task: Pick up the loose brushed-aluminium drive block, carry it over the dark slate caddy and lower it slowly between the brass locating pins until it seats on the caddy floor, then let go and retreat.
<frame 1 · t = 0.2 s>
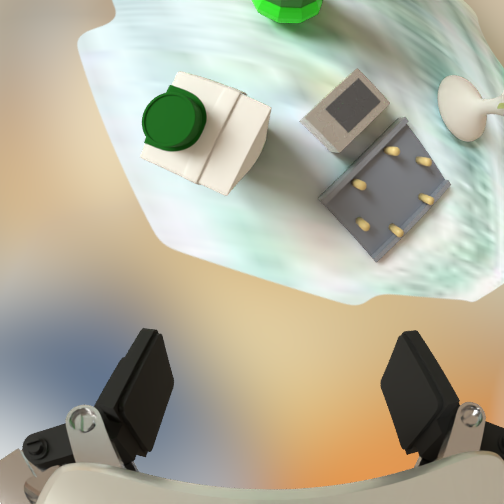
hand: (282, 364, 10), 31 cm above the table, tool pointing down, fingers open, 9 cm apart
flower in vase: (453, 108, 30), on the table
milk carton: (232, 138, 35), on the table
caddy: (387, 188, 36), on the table
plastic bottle: (285, 7, 27), on the table
drive: (338, 113, 33), on the table
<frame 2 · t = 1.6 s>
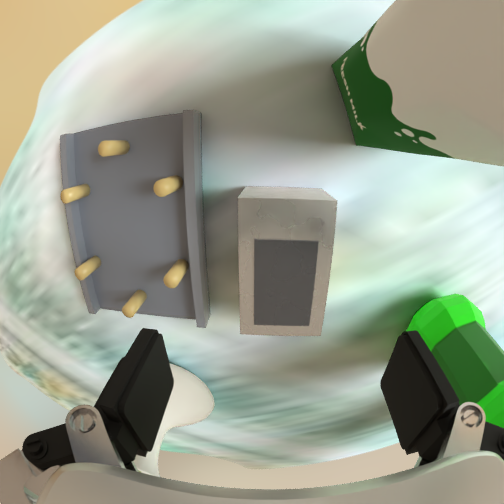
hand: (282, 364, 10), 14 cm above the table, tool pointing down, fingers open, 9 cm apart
flower in vase: (175, 381, 30), on the table
milk carton: (381, 99, 18), on the table
caddy: (134, 222, 23), on the table
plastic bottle: (428, 319, 25), on the table
drive: (282, 246, 23), on the table
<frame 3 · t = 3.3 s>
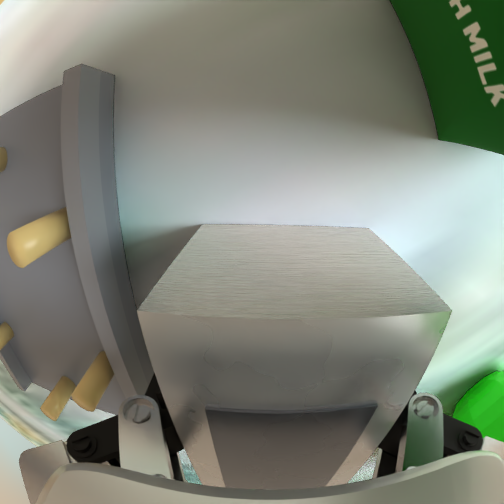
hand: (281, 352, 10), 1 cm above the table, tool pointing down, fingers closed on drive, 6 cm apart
milk carton: (468, 61, 6), on the table
caddy: (37, 282, 11), on the table
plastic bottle: (477, 392, 14), on the table
drive: (281, 338, 11), on the table, touching gripper
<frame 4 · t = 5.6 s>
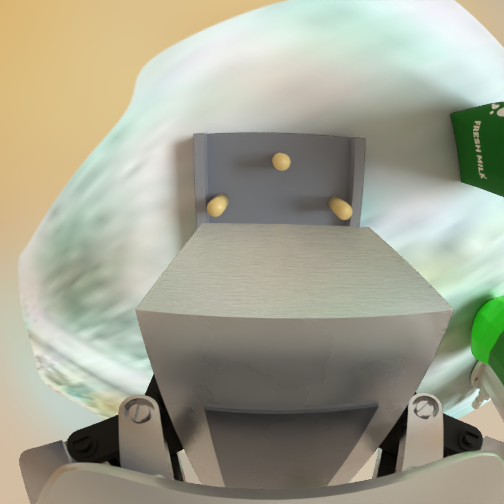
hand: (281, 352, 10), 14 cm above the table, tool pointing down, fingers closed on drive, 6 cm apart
milk carton: (476, 145, 19), on the table
caddy: (277, 238, 24), on the table
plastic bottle: (484, 315, 26), on the table
drive: (281, 338, 11), point 13 cm above the table, touching gripper
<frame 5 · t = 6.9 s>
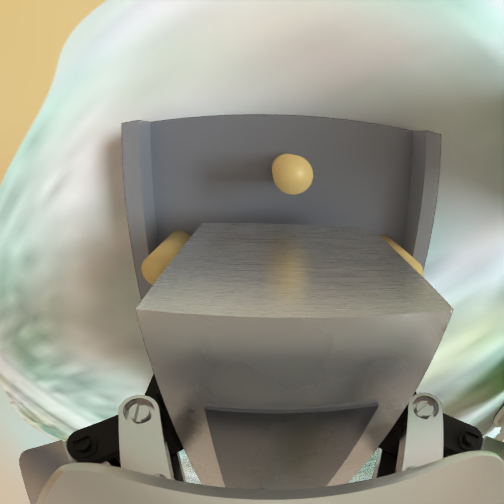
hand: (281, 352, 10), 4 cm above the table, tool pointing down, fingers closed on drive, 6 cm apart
caddy: (279, 301, 14), on the table
drive: (281, 338, 11), point 3 cm above the table, touching gripper
when the fingers open (3 cm above the table, at t = 7.9 s): drive drops 1 cm, resting on caddy.
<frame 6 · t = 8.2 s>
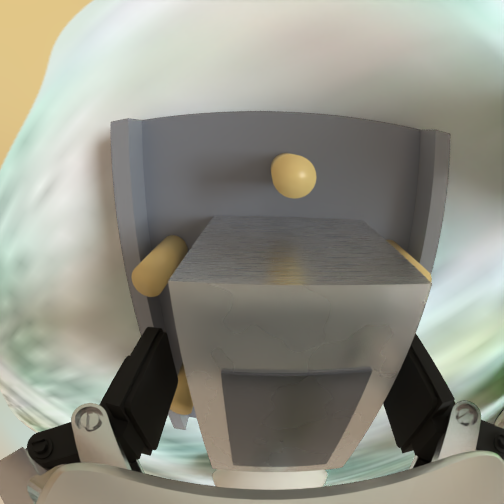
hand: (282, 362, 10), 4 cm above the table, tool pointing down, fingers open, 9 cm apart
flower in vase: (275, 464, 21), on the table
caddy: (279, 309, 13), on the table
drive: (284, 322, 12), point 1 cm above the table, touching caddy
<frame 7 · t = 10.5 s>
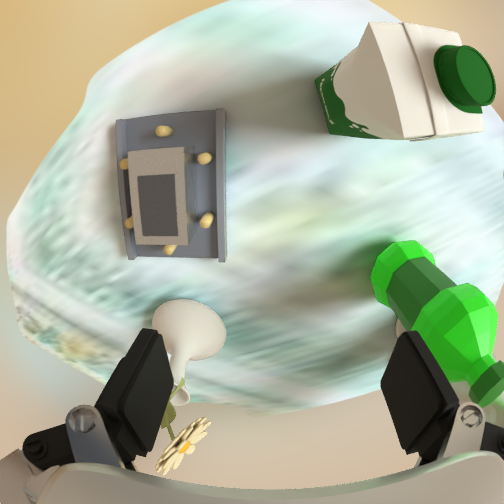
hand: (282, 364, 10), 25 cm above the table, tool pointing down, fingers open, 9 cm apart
flower in vase: (193, 320, 40), on the table
milk carton: (348, 102, 27), on the table
caddy: (173, 186, 32), on the table
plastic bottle: (392, 263, 36), on the table
drive: (172, 188, 31), point 1 cm above the table, touching caddy
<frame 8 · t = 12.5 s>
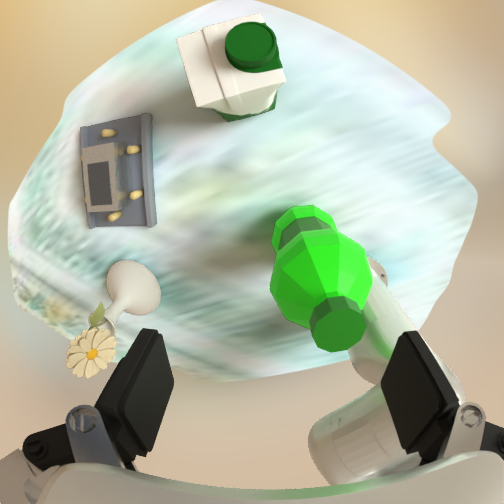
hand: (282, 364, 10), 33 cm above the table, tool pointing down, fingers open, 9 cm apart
flower in vase: (138, 280, 47), on the table
milk carton: (244, 94, 35), on the table
caddy: (118, 172, 40), on the table
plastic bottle: (302, 230, 42), on the table
drive: (116, 173, 39), point 1 cm above the table, touching caddy
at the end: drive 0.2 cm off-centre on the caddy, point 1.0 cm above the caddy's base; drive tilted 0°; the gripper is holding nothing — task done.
